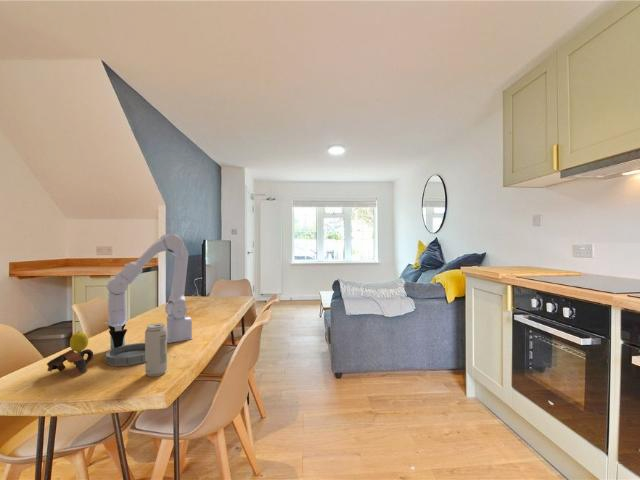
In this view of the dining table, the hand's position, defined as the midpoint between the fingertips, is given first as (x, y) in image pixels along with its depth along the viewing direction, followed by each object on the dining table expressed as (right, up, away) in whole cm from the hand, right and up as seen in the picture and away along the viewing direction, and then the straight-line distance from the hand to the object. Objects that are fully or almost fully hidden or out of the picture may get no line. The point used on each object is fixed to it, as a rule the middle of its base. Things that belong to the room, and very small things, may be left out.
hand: (117, 345), depth 124 cm
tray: (+10, -2, -8) cm, 13 cm away
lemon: (-13, -2, -2) cm, 14 cm away
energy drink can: (+25, -2, -22) cm, 33 cm away
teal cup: (0, -2, 0) cm, 2 cm away
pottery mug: (-2, -2, -20) cm, 20 cm away
